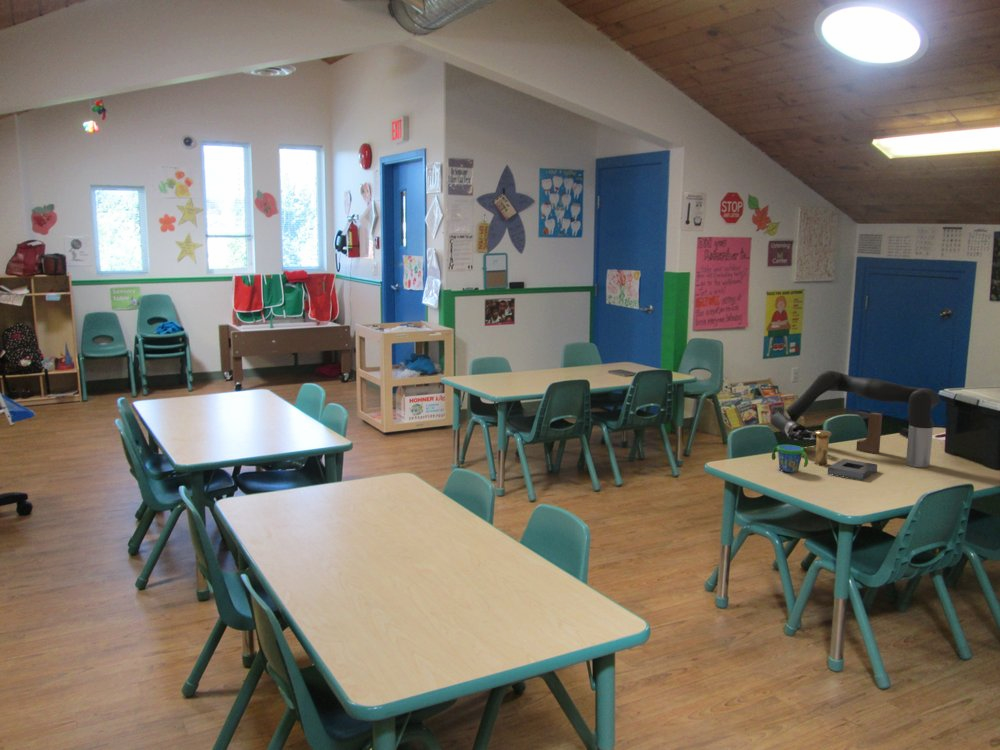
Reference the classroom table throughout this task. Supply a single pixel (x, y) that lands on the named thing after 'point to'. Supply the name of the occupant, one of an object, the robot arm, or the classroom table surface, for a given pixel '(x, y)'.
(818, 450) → the brass flanged peg
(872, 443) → the wooden block
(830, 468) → the plate
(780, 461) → the snack cup
